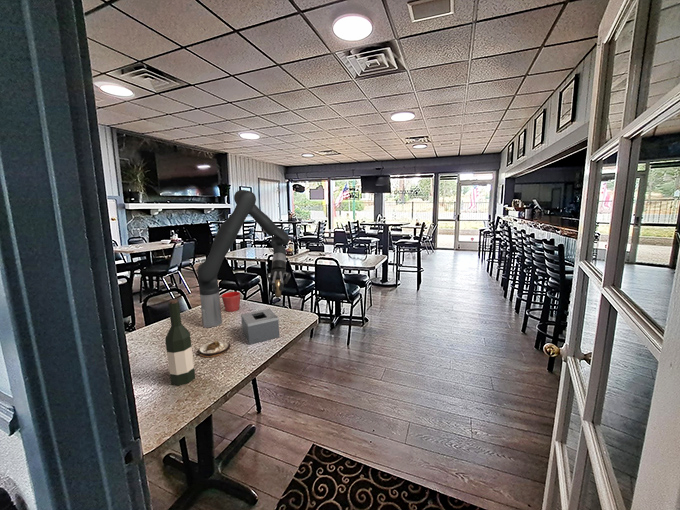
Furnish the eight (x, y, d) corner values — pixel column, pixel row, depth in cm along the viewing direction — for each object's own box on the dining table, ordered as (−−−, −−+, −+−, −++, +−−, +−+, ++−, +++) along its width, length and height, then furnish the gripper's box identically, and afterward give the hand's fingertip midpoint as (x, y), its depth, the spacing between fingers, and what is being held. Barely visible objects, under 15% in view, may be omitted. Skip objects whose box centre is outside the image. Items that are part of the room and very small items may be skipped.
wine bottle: (176, 373, 113) (166, 297, 108) (199, 371, 114) (190, 296, 109) (166, 386, 105) (154, 305, 100) (190, 385, 106) (180, 303, 101)
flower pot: (219, 312, 176) (217, 296, 174) (229, 306, 186) (227, 291, 185) (236, 313, 174) (234, 297, 172) (244, 306, 185) (243, 291, 183)
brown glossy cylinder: (276, 297, 158) (275, 280, 156) (274, 296, 160) (273, 279, 159) (282, 296, 159) (281, 280, 158) (280, 295, 162) (279, 278, 160)
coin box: (249, 345, 135) (247, 324, 133) (242, 333, 147) (240, 314, 145) (279, 337, 141) (278, 317, 140) (270, 327, 153) (269, 308, 152)
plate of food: (212, 363, 121) (211, 354, 120) (188, 355, 128) (187, 346, 127) (240, 347, 133) (239, 338, 133) (217, 341, 140) (216, 332, 140)
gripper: (265, 259, 163) (262, 287, 153) (291, 258, 164) (290, 286, 154) (267, 267, 169) (265, 294, 159) (292, 266, 170) (291, 293, 161)
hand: (277, 290), depth 157 cm, fingers closed on brown glossy cylinder, 3 cm apart
